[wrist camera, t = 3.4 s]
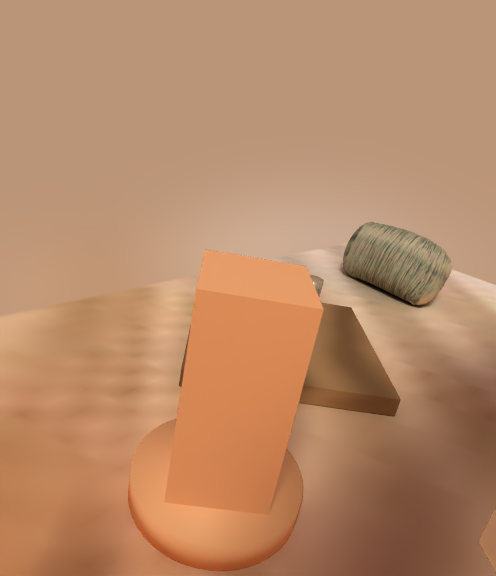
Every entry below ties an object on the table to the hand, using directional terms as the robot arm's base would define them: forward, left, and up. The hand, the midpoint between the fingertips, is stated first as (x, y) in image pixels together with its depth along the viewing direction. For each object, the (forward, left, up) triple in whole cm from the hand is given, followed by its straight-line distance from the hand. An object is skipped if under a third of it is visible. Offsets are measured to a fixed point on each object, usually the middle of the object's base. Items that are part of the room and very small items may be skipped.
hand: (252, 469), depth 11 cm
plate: (-5, -27, -11) cm, 30 cm away
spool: (-21, -47, -11) cm, 53 cm away
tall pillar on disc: (0, -10, -11) cm, 15 cm away
